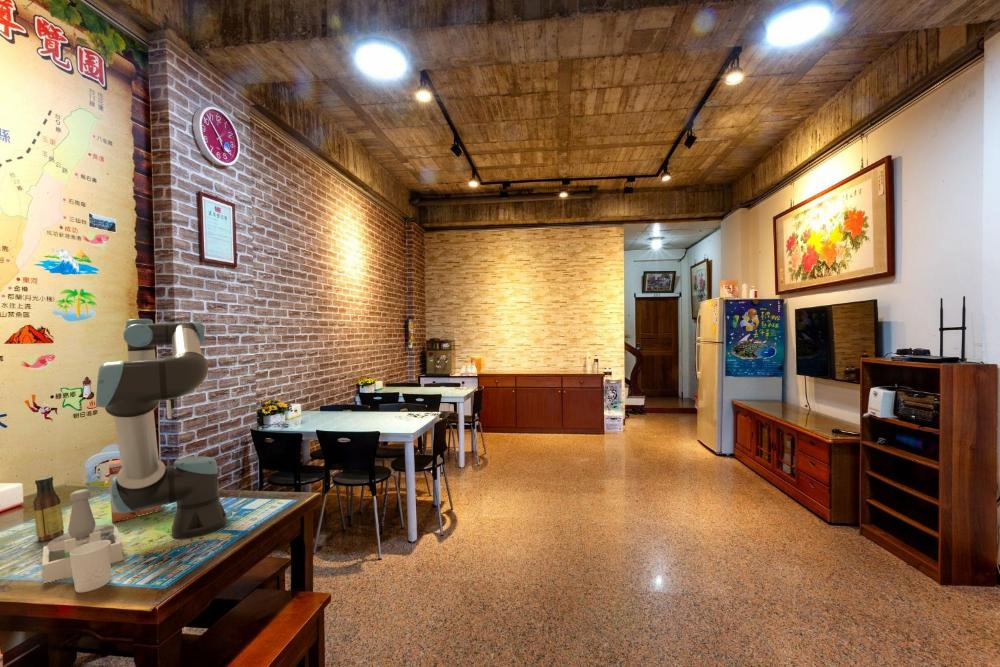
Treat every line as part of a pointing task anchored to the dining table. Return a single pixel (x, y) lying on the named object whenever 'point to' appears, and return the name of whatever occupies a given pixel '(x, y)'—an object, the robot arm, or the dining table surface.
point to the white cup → (91, 565)
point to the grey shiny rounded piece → (58, 542)
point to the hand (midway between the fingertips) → (146, 422)
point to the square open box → (59, 562)
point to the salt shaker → (81, 515)
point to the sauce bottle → (47, 510)
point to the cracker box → (116, 515)
